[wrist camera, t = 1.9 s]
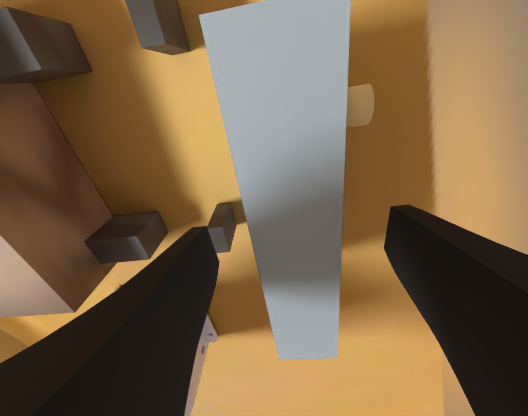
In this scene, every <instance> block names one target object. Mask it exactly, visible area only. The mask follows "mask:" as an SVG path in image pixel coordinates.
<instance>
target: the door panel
mask: <svg viewBox="0 0 528 416" xmlns="http://www.w3.org/2000/svg"><path fill="white" fill-rule="evenodd" d="M350 6H351V0H265V1H260V2H256V3H251V4H247V5H242V6H238V7H233V8H228V9H224V10H219V11H215V12H210V13H205V14H201V15H199V19H200V23H201V28H202V32H203V36H204V40H205V45H206V49H207V53H208V57H209V62H210V66H211V70H212V75H213V79H214V83H215V87H216V92H217V96H218V100H219V105H220V109H221V113H222V117H223V122H224V126H225V130H226V135H227V139H228V143H229V147H230V152H231V156H232V160H233V164H234V169H235V173H236V177H237V182H238V186H239V190H240V194H241V199H242V203H243V207H244V212H245V216H246V220H247V224H248V229H249V233H250V237H251V242H252V246H253V250H254V254H255V259H256V263H257V267H258V271H259V276H260V280H261V284H262V289H263V293H264V297H265V301H266V306H267V310H268V314H269V319H270V323H271V327H272V331H273V336H274V340H275V344H276V349H277V353H278V357H279V360H295V359H323V358H338V333H339V305H340V278H341V251H342V224H343V197H344V169H345V142H346V128H350V127H357V126H364V125H368V124H369V123H370V122H371V120H372V117H373V113H374V106H375V98H374V91H373V88H372V86H371V85H370V84H363V85H357V86H351V87H348V60H349V33H350Z"/></svg>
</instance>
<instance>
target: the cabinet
mask: <svg viewBox="0 0 528 416" xmlns="http://www.w3.org/2000/svg"><path fill="white" fill-rule="evenodd" d="M125 1H126V4H127V7H128V10H129V12H130V15H131V18H132V21H133V24H134V26H135V29H136V32H137V35H138V38H139V41H140V43H141V46H142V48H143V49H148V50H152V51H156V52H161V53H165V54H169V55H175V54H180V53H185V52H190V48H189V44H188V41H187V37H186V33H185V29H184V26H183V22H182V18H181V14H180V10H179V7H178V3H177V0H125ZM90 71H92V70H91V68H90V65H89V63H88V61H87V59H86V57H85V55H84V53H83V51H82V48H81V46H80V44H79V42H78V40H77V38H76V36H75V34H74V31H73V29H72V27H71V25H70V24H68V23H64V22H61V21H57V20H53V19H49V18H46V17H42V16H38V15H35V14H31V13H27V12H23V11H20V10H16V9H12V8H8V7H4V8H0V318H2V317H16V316H31V315H46V314H60V313H75V312H76V311H77V310H78V308H79V307H80V306H81V305H82V304H83V302H84V301H85V300H86V299H87V298H88V297H89V295H90V294H91V293H92V292H93V291H94V289H95V288H96V287H97V286H98V285H99V283H100V282H101V281H102V280H103V279H104V278H105V276H106V275H107V274H108V273H109V272H110V270H111V269H112V268H113V267H114V266H115V265H116V263H117V262H126V261H137V260H147V259H150V258H151V257H152V255H153V254H154V252H155V251H156V249H157V248H158V246H159V245H160V243H161V242H162V240H163V239H164V237H165V236H166V235H167V233H168V231H167V229H166V227H165V225H164V223H163V221H162V219H161V216H160V214H159V212H158V211H155V212H147V213H138V214H130V215H122V216H112V214H111V212H110V211H109V209H108V207H107V206H106V204H105V202H104V201H103V199H102V197H101V196H100V194H99V192H98V191H97V189H96V187H95V186H94V184H93V182H92V181H91V179H90V177H89V176H88V174H87V172H86V171H85V169H84V167H83V166H82V164H81V163H80V161H79V159H78V158H77V156H76V154H75V153H74V151H73V149H72V148H71V146H70V144H69V143H68V141H67V139H66V138H65V136H64V134H63V133H62V131H61V129H60V128H59V126H58V124H57V123H56V121H55V119H54V118H53V116H52V114H51V113H50V111H49V109H48V108H47V106H46V104H45V103H44V101H43V99H42V98H41V96H40V94H39V93H38V91H37V90H36V88H35V86H34V85H33V83H35V82H40V81H45V80H50V79H55V78H60V77H65V76H70V75H75V74H80V73H85V72H90ZM207 229H208V231H209V234H210V237H211V240H212V243H213V246H214V248H215V251H216V253H222V252H230V249H231V245H232V241H233V237H234V233H235V229H236V221H235V218H234V214H233V210H232V206H231V203H223V204H217V206H216V208H215V210H214V212H213V215H212V217H211V219H210V221H209V224H208V226H207Z"/></svg>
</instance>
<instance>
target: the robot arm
mask: <svg viewBox="0 0 528 416" xmlns="http://www.w3.org/2000/svg"><path fill="white" fill-rule="evenodd" d="M384 250H385V252H386V254H387V257H388V259H389V261H390V263H391V265H392V267H393V269H394V272H395V273H396V275H397V276H398V278H399V280H400V281H401V283H402V284H403V286H404V288H405V289H406V291H407V292H408V294H409V296H410V297H411V299H412V300H413V302H414V303H415V305H416V307H417V308H418V310H419V311H420V313H421V314H422V316H423V318H424V319H425V321H426V322H427V324H428V325H429V327H430V329H431V330H432V332H433V334H434V335H435V337H436V339H437V340H438V342H439V344H440V346H441V348H442V350H443V352H444V354H445V355H446V357H447V359H448V361H449V363H450V365H451V367H452V369H453V371H454V373H455V375H456V377H457V379H458V381H459V383H460V385H461V387H462V389H463V391H464V393H465V395H466V397H467V399H468V402H469V404H470V406H471V407H472V410H473V412H474V414H475V416H528V255H527V254H524V253H521V252H519V251H516V250H514V249H511V248H509V247H506V246H504V245H501V244H499V243H496V242H494V241H491V240H489V239H487V238H485V237H482V236H480V235H477V234H475V233H473V232H471V231H468V230H466V229H464V228H461V227H459V226H457V225H455V224H452V223H450V222H448V221H446V220H444V219H441V218H439V217H437V216H435V215H432V214H430V213H428V212H426V211H423V210H421V209H418V208H416V207H413V206H410V205H400V206H391V208H390V214H389V220H388V226H387V232H386V238H385V244H384ZM218 268H219V260H218V257H217V254H216V251H215V248H214V246H213V243H212V240H211V237H210V234H209V231H208V229H207V226H202V227H193V228H191V229H190V230H189V231H187V232H186V233H185V234H184V235H182V236H181V237H180V238H179V239H178V240H177V241H175V242H174V243H173V244H172V245H171V246H170V247H169V248H167V249H166V250H165V251H164V252H163V253H162V254H160V255H159V256H158V257H157V258H156V259H155V260H154V261H152V262H151V263H150V264H149V265H147V266H146V267H145V268H144V269H143V270H141V271H140V272H139V273H138V274H136V275H135V276H134V277H133V278H131V279H130V280H129V281H128V282H126V283H125V284H124V285H122V286H121V287H118V288H115V289H114V290H113V293H112V294H110V295H109V296H108V297H106V298H105V299H103V300H102V301H100V302H99V303H98V304H96V305H95V306H93V307H92V308H90V309H89V310H87V311H86V312H84V313H83V314H81V315H80V316H78V317H77V318H75V319H73V320H72V321H70V322H69V323H67V324H66V325H64V326H62V327H61V328H59V329H58V330H56V331H54V332H53V333H51V334H50V335H48V336H47V337H45V338H43V339H42V340H40V341H38V342H37V343H35V344H33V345H32V346H30V347H28V348H26V349H25V350H23V351H21V352H20V353H18V354H16V355H14V356H13V357H11V358H9V359H7V360H6V361H4V362H2V363H0V416H189V415H190V413H191V411H192V408H193V405H194V402H195V398H196V394H197V390H198V386H199V381H200V377H201V373H202V369H203V365H204V361H205V357H206V353H207V348H208V344H209V342H216V341H217V340H218V335H217V333H216V331H215V329H214V327H213V325H212V322H211V320H210V318H209V316H208V314H207V313H208V310H209V307H210V303H211V300H212V297H213V293H214V290H215V286H216V281H217V275H218Z"/></svg>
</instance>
